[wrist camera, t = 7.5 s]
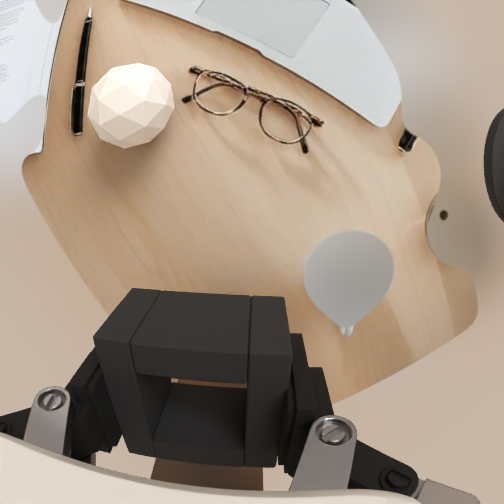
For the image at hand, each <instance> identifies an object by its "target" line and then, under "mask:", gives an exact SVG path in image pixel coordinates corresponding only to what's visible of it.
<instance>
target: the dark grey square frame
mask: <svg viewBox="0 0 504 504" xmlns="http://www.w3.org/2000/svg"><path fill="white" fill-rule="evenodd" d="M93 339H94V344H95V348H96V352H97V356H98V359H99V363H100V367H101V371H102V372H103V375H104V379H105V382H106V386H107V389H108V392H109V395H110V399H111V402H112V405H113V408H114V411H115V414H116V417H117V420H118V423H119V425H120V428H121V431H122V435H123V438H124V440H125V443H126V445H127V448H128V451H129V452H130V453H134V454H139V455H144V456H149V457H155V458H157V457H158V458H160V459H167V460H173V461H180V462H188V463H196V464H205V465H216V466H230V467H244V466H245V467H266V468H267V467H268V468H271V467H272V468H273V467H275V466H276V462H277V456H278V443H279V437H280V431H281V425H282V418H283V412H284V405H285V398H286V391H287V389H288V387H289V380H290V373H291V365H292V358H293V351H292V345H291V338H290V332H289V325H288V319H287V312H286V306H285V300H284V297H273V296H252V297H251V296H249V295H228V294H209V293H191V292H176V291H161V290H151V289H138V288H132V289H131V290H130V292H129V293H128V294H127V295H126V296H125V298H124V299H123V300H122V301H121V302H120V304H119V305H118V306H117V307H116V308H115V310H114V311H113V312H112V313H111V315H110V316H109V317H108V318H107V320H106V321H105V322H104V324H103V325H102V326H101V327H100V328H99V330H98V331H97V332H96V333H95V335H94V336H93ZM171 378H176V379H185V380H195V381H207V382H220V383H237V384H245V383H246V382H247V388H232V387H217V386H204V385H193V384H183V383H174V382H172V383H171Z"/></svg>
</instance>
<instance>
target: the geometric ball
mask: <svg viewBox="0 0 504 504" xmlns="http://www.w3.org/2000/svg"><path fill="white" fill-rule="evenodd" d="M174 108H175V107H174V101H173V94H172V87H171V84H170V83H169V82H168V81H167V80H166V79H165V77H164V76H163V75H162V74H161V73H160V72H159V71H158V70H157V69H156V68H155V67H152V66H148V65H144V64H140V63H136V64H130V65H124V66H119V67H114V68H111V69H110V70H109V71H108V72H107V73H106V74H105V75H104V76H103V77H102V78H101V79H100V80H99V81H98V82H97V83H96V84H95V85H94V87H93V88H92V91H91V97H90V103H89V109H88V117H89V119H90V121H91V123H92V125H93V127H94V128H95V130H96V132H97V134H98V136H99V137H100V139H101V140H104V141H106V142H109V143H111V144H114V145H116V146H119V147H121V148H124V149H125V148H129V147H133V146H136V145H140V144H144V143H147V142H150V141H151V140H152V139H153V138H155V137H156V136H157V135H158V134H159V133H160V132H161V131H162V130H163V129H164V128H165V126H166V124H167V122H168V120H169V118H170V116H171V114H172V112H173V110H174Z"/></svg>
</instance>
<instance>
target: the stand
mask: <svg viewBox="0 0 504 504" xmlns="http://www.w3.org/2000/svg"><path fill="white" fill-rule="evenodd" d="M177 383H183V384H193V385H204V386H217V387H232V388H247V382H246V383H245V384H237V383H220V382H207V381H195V380H185V379H178V382H177ZM151 479H153V480H158V481H164V482H170V483H176V484H183V485H190V486H199V487H208V488H218V489H231V490H250V491H263V467H245V466H244V467H230V466H216V465H205V464H196V463H188V462H180V461H173V460H167V459H160V458H158V457H157V458H156V460H155V464H154V467H153V471H152V475H151Z"/></svg>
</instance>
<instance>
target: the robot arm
mask: <svg viewBox="0 0 504 504" xmlns="http://www.w3.org/2000/svg"><path fill="white" fill-rule="evenodd" d="M290 338H291V345H292V351H293V358H292V365H291V373H290V380H289V387H288V389H287V391H286V398H285V405H284V412H283V418H282V425H281V431H280V437H279V443H278V465H284V473H288V474H289V475H290V476H291V477H293V481H292V483H291V486H290V488H289V491H250V490H231V489H218V488H208V487H199V486H190V485H183V484H176V483H170V482H164V481H158V480H153V479H147V478H143V477H138V476H133V475H128V474H125V473H120V472H116V471H112V470H109V469H104V468H101V467H97V466H96V454H95V453H96V452H98V451H99V450H100V451H104V452H108V453H110V452H111V450H112V447H113V446H117V444H118V442H119V440H120V438H121V435H122V431H121V428H120V425H119V423H118V420H117V417H116V414H115V411H114V408H113V405H112V402H111V399H110V395H109V392H108V389H107V386H106V382H105V379H104V375H103V372H102V371H101V367H100V363H99V359H98V356H97V352H96V348H94V349H93V351H92V352H90V354H89V355H88V356H87V358H86V359H85V361H84V362H83V363H82V365H81V366H80V368H79V369H78V370H77V372H76V373H75V375H74V376H73V377H72V379H71V380H70V382H69V383H68V385H67V386H66V387H65V389H64V388H61V387H57V386H53V387H47V388H44V389H43V390H41V391H39V392H38V393H37V395H36V396H35V398H34V401H33V404H32V407H31V408H27V409H24V410H21V411H17V412H14V413H11V414H7V415H4V416H0V504H480V501H479V500H478V499H477V497H475V496H474V495H472V494H470V493H466V492H464V491H461V490H458V489H454V488H452V487H449V486H446V485H443V484H440V483H437V482H435V481H432V480H429V479H426V480H425V481H423V480H420V479H419V478H418V476H417V473H416V472H415V471H414V470H413V469H412V468H411V467H409V466H408V465H406V464H404V463H401V462H399V461H397V460H395V459H393V458H391V457H389V456H387V455H385V454H383V453H381V452H379V451H377V450H376V449H374V448H372V447H370V446H368V445H366V444H364V443H362V442H360V441H358V440H357V430H356V428H355V426H354V424H353V423H352V422H351V421H349V420H347V419H346V418H344V417H340V416H335V415H334V412H333V408H332V404H331V400H330V396H329V392H328V388H327V384H326V380H325V376H324V373H323V369H322V368H321V367H309V366H308V362H307V357H306V352H305V347H304V342H303V338H302V334H297V333H290Z"/></svg>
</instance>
